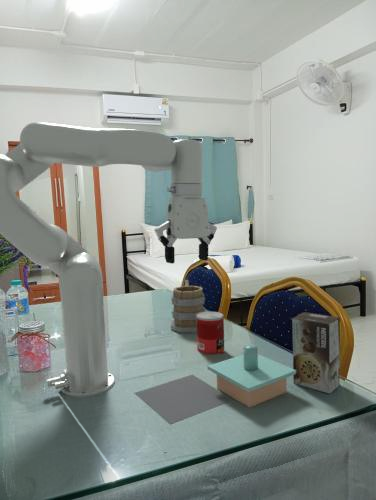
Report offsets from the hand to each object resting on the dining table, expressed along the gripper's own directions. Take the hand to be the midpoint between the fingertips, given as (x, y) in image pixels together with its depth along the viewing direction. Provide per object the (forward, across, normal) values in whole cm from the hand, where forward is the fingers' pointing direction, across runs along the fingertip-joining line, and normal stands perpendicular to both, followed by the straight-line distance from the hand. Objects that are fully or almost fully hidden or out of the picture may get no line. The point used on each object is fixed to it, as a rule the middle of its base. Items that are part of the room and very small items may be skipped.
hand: (187, 261), depth 97 cm
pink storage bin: (+29, +6, -18) cm, 34 cm away
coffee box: (+28, +21, -23) cm, 42 cm away
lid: (+24, +6, -18) cm, 30 cm away
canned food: (+29, +13, +9) cm, 33 cm away
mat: (+29, -8, -11) cm, 32 cm away
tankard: (+29, +22, +35) cm, 51 cm away
